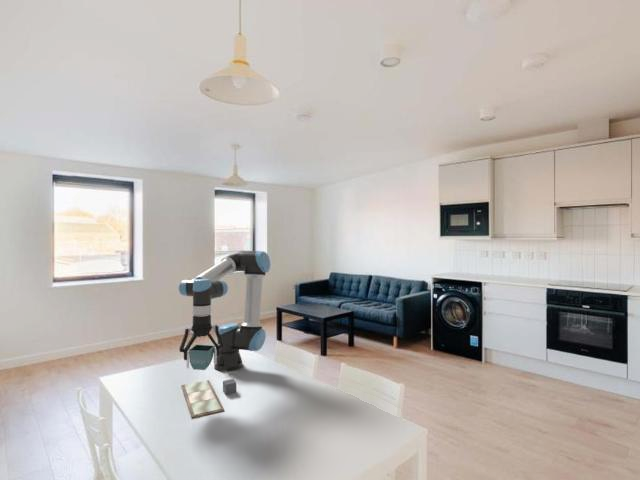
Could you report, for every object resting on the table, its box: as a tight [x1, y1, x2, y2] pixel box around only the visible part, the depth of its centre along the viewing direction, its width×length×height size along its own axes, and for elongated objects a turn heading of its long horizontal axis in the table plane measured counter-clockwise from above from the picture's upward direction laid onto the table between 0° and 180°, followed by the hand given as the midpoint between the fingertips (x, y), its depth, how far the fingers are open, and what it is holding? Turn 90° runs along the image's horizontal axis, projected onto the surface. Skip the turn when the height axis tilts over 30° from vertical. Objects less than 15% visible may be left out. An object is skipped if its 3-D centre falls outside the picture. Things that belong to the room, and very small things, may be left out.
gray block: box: [222, 378, 237, 396], centre depth 169 cm, size 5×5×5 cm
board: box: [181, 380, 225, 419], centre depth 163 cm, size 13×34×1 cm, turn 27°
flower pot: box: [188, 344, 216, 371], centre depth 157 cm, size 9×9×9 cm
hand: (201, 365), depth 157 cm, fingers closed on flower pot, 11 cm apart
